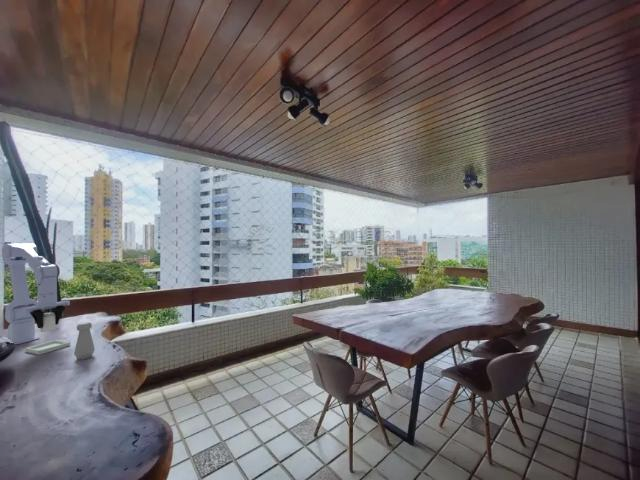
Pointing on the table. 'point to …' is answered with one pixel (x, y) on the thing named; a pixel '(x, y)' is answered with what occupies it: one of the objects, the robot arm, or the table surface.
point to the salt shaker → (84, 342)
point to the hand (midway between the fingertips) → (48, 326)
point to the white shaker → (48, 322)
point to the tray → (47, 347)
